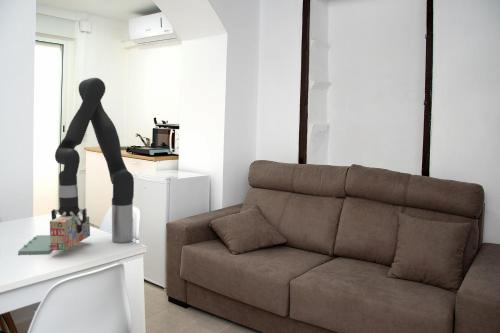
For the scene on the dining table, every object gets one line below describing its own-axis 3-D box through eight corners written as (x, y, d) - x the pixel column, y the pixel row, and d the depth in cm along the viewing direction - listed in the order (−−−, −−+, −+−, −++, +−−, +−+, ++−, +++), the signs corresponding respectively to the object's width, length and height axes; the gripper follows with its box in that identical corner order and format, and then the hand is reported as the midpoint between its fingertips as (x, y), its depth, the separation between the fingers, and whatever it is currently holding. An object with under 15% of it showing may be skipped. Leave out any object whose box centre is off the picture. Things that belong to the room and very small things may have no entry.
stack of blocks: (77, 235, 202) (76, 209, 201) (90, 236, 202) (89, 209, 200) (50, 249, 181) (49, 220, 180) (64, 250, 181) (63, 221, 179)
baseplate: (64, 238, 208) (64, 233, 207) (49, 254, 184) (49, 248, 184) (37, 238, 206) (36, 233, 206) (18, 254, 182) (18, 249, 182)
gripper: (88, 193, 193) (89, 230, 195) (53, 193, 190) (54, 231, 193) (84, 196, 185) (85, 235, 188) (48, 197, 183) (49, 236, 185)
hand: (69, 233), depth 190 cm, fingers closed on stack of blocks, 7 cm apart
